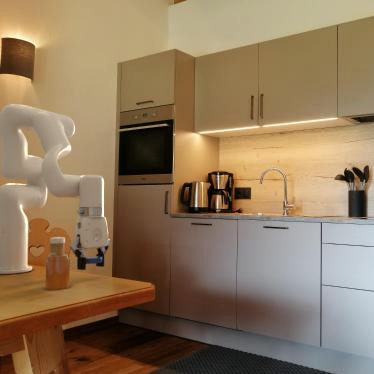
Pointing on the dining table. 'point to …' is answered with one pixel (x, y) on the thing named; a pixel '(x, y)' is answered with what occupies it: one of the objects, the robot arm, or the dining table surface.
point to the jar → (57, 271)
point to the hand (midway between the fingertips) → (91, 267)
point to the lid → (93, 259)
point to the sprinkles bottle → (57, 245)
